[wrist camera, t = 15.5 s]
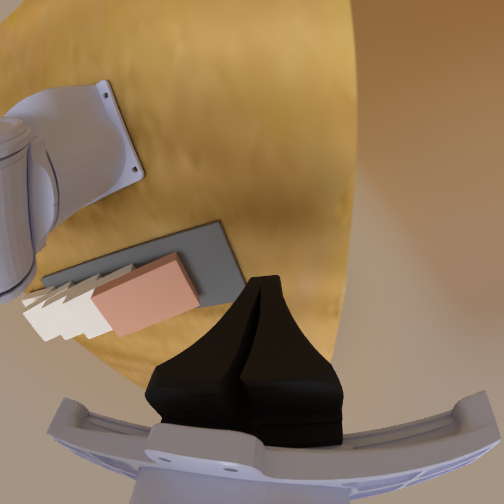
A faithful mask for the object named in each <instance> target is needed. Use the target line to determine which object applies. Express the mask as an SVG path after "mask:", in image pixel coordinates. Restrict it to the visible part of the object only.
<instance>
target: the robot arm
mask: <svg viewBox="0 0 504 504" xmlns="http://www.w3.org/2000/svg"><path fill="white" fill-rule="evenodd" d="M107 93H108V97H107V98H106V94H107ZM135 167H137V169H138V171H135V169H134V168H135ZM143 177H144V171H143V168H142V166H141V164H140V161H139V159H138V157H137V154H136V152H135V149H134V147H133V144H132V142H131V140H130V137H129V135H128V132H127V129H126V127H125V124H124V122H123V119H122V117H121V114H120V111H119V109H118V106H117V103H116V100H115V98H114V95H113V92H112V89H111V87H110V84H109V82H108V81H107V80H101V81H100V82H98V83H97V84H96V85H79V86H67V87H58V88H50V89H46V90H43V91H40V92H37V93H35V94H33V95H31V96H29V97H27V98H25V99H23V100H22V101H20V102H19V103H17V104H16V105H15V106H13V107H12V108H11V109H10V110H9V111H8V112H7V113H6V114H5V115H4V116H3V117H0V305H1V304H4V303H7V302H9V301H11V300H13V299H15V298H16V297H17V296H19V295H20V294H21V293H23V292H24V291H25V290H26V289H27V287H28V286H29V285H30V284H31V282H32V281H33V278H34V276H35V274H36V270H37V260H36V254H37V253H38V252H39V251H40V250H41V249H42V248H44V247H45V246H46V239H47V235H48V234H49V233H50V232H51V231H52V230H53V229H55V228H56V227H57V226H58V225H60V224H61V223H62V222H64V221H65V220H66V219H68V218H69V217H70V216H72V215H73V214H74V213H76V212H77V211H79V210H80V209H81V208H83V207H86V206H88V205H90V204H91V203H93V202H95V201H97V200H99V199H101V198H103V197H105V196H107V195H109V194H111V193H113V192H116V191H118V190H120V189H122V188H124V187H126V186H128V185H130V184H133V183H135V182H137V181H139V180H141V179H142V178H143ZM145 397H146V400H147V401H148V402H149V404H150V405H151V406H152V407H153V408H154V409H155V410H156V411H157V413H158V414H159V415H160V416H161V417H162V420H161V423H158V424H155V425H154V426H152V427H146V426H142V425H137V424H133V423H129V422H124V421H121V420H117V419H113V418H109V417H106V416H103V415H99V414H96V413H93V412H90V411H89V410H88V409H87V408H86V407H85V406H84V405H82V404H81V403H79V402H77V401H74V400H71V399H69V398H63V400H62V402H61V404H60V406H59V408H58V410H57V412H56V414H55V416H54V418H53V420H52V422H51V424H50V426H49V428H48V430H47V434H48V435H49V436H50V437H52V438H53V439H54V440H56V441H57V442H59V443H60V444H61V445H63V446H64V447H65V448H67V449H69V450H70V451H71V452H73V453H74V454H76V455H78V456H80V457H82V458H84V459H86V460H88V461H90V462H93V463H95V464H97V465H99V466H102V467H104V468H106V469H109V470H111V471H114V472H116V473H119V474H121V475H124V476H126V477H129V478H131V479H134V480H136V483H135V486H134V489H133V493H132V496H131V499H130V503H129V504H350V500H356V499H361V498H366V497H370V496H375V495H379V494H384V493H388V492H391V491H395V490H399V489H402V488H405V487H409V486H412V485H415V484H418V483H421V482H424V481H427V480H430V479H432V478H435V477H438V476H440V475H443V474H446V473H448V472H451V471H453V470H456V469H458V468H460V467H463V466H465V465H467V464H470V463H472V462H474V461H475V460H476V459H478V458H479V457H481V456H482V455H483V454H484V453H486V452H487V451H489V450H490V449H491V448H493V447H494V446H495V445H496V444H497V443H499V442H500V440H501V437H500V433H499V430H498V427H497V423H496V420H495V417H494V414H493V411H492V408H491V405H490V403H489V399H488V397H487V394H486V391H481V392H478V393H476V394H473V395H470V396H468V397H465V398H463V399H461V400H460V401H458V402H457V403H456V404H455V406H454V408H453V409H452V410H450V411H447V412H444V413H441V414H438V415H435V416H431V417H428V418H424V419H420V420H417V421H413V422H409V423H405V424H400V425H396V426H391V427H386V428H381V429H376V430H371V431H364V432H358V433H351V434H344V435H343V430H342V405H343V398H344V397H343V390H342V386H341V384H340V381H339V379H338V377H337V375H336V372H335V371H334V369H333V367H332V365H331V364H330V363H329V362H328V361H327V360H326V359H325V358H324V357H323V356H322V355H321V354H320V353H319V352H318V351H317V350H316V349H315V348H314V347H313V345H312V344H311V343H310V342H309V341H308V339H307V338H306V337H305V336H304V334H303V333H302V331H301V330H300V328H299V327H298V325H297V324H296V322H295V320H294V319H293V317H292V315H291V313H290V311H289V309H288V307H287V305H286V302H285V300H284V297H283V293H282V287H281V281H280V277H279V276H278V275H271V276H261V277H251V278H250V279H249V281H248V282H247V284H246V286H245V287H244V289H243V290H242V292H241V293H240V295H239V296H238V298H237V299H236V300H235V302H234V303H233V304H232V306H231V307H230V308H229V310H228V311H227V312H226V313H225V314H224V316H223V317H222V318H221V319H220V320H219V321H218V322H217V324H216V325H215V326H214V327H213V328H212V329H211V330H210V331H208V332H207V333H206V334H205V335H204V336H203V337H201V338H200V339H199V340H198V341H197V342H195V343H194V344H193V345H191V346H190V347H189V348H187V349H186V350H184V351H183V352H181V353H180V354H178V355H177V356H175V357H173V358H171V359H170V360H168V361H166V362H164V363H162V364H160V365H158V366H156V368H155V370H154V372H153V374H152V376H151V379H150V381H149V384H148V387H147V389H146V392H145Z"/></svg>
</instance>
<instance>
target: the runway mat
mask: <svg viewBox="0 0 504 504" xmlns="http://www.w3.org/2000/svg"><path fill="white" fill-rule="evenodd" d="M173 252H176V253H177V255H178V257H179V258H180V260H181V262H182V264H183V266H184V268H185V270H186V272H187V274H188V276H189V278H190V280H191V282H192V283H193V285H194V287H195V289H196V291H197V293H198V295H199V300H200V306H198V307H195V308H200V307H206V306H212V305H218V304H224V303H229V302H235V300H236V299H237V298H238V296H239V295H240V293H241V292H242V290H243V289H244V287H245V286H246V283H245V280H244V278H243V276H242V273H241V271H240V269H239V266H238V264H237V261H236V259H235V257H234V254H233V252H232V249H231V247H230V245H229V242H228V240H227V237H226V235H225V233H224V230H223V228H222V225H221V223H220V221H216V222H212V223H209V224H205V225H202V226H199V227H195V228H192V229H188V230H185V231H182V232H178V233H175V234H172V235H168V236H165V237H162V238H158V239H155V240H152V241H149V242H146V243H142V244H139V245H136V246H133V247H130V248H127V249H124V250H121V251H118V252H114V253H111V254H108V255H105V256H102V257H99V258H96V259H94V260H91V261H88V262H85V263H82V264H79V265H76V266H73V267H70V268H68V269H65V270H62V271H59V272H56V273H54V274H51V275H48V276H45V277H43V278H41V281H42V282H43V284H44V285H45V287H46V288H49V287H52V286H55V288H56V289H57V288H59V287H61V286H63V285H64V284H66V283H68V282H70V281H72V282H73V283H74V285H76V284H78V283H80V282H82V281H84V280H86V279H88V278H90V277H92V276H94V275H96V274H98V273H100V274H101V276H102V277H105V276H107V275H109V274H111V273H113V272H115V271H117V270H119V269H121V268H123V267H125V266H128V265H130V264H132V263H133V264H134V266H135V268H136V269H138V268H140V267H142V266H144V265H146V264H149V263H151V262H153V261H155V260H158V259H160V258H162V257H164V256H167V255H169V254H171V253H173ZM193 309H194V308H193Z"/></svg>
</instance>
